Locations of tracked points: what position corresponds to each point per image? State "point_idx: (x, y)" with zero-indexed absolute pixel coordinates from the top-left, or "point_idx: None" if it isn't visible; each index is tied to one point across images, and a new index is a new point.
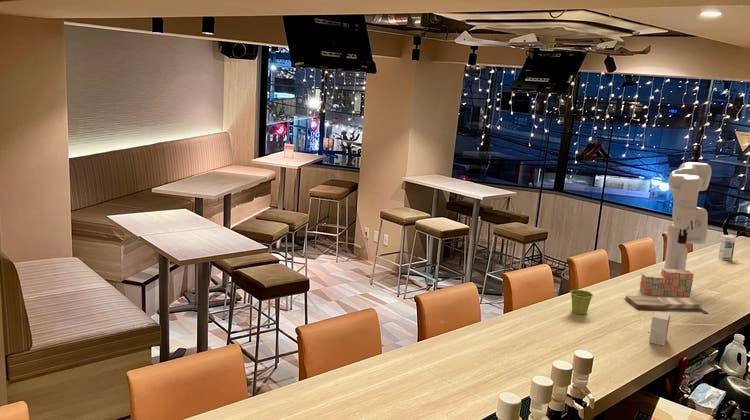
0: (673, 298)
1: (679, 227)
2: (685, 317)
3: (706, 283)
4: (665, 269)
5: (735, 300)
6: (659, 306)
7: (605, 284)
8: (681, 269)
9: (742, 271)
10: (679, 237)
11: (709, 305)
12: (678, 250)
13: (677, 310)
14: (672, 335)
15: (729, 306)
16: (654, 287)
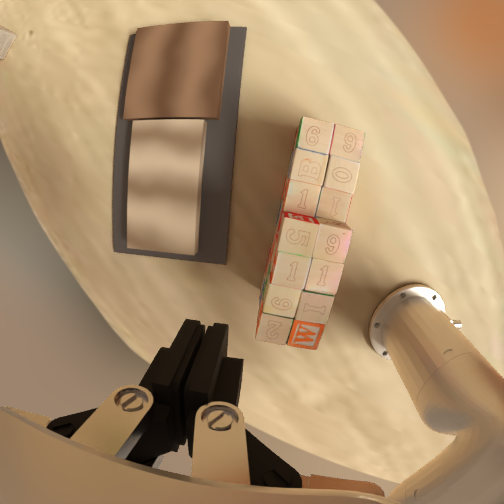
0: (187, 183)
1: (55, 449)
2: (85, 158)
3: (382, 412)
4: (335, 240)
5: (240, 404)
6: (127, 95)
7: (411, 61)
8: (398, 362)
9: None
10: (179, 360)
11: (189, 308)
12: (440, 396)
13: (125, 157)
14: (12, 76)
15: None
16: (291, 161)
